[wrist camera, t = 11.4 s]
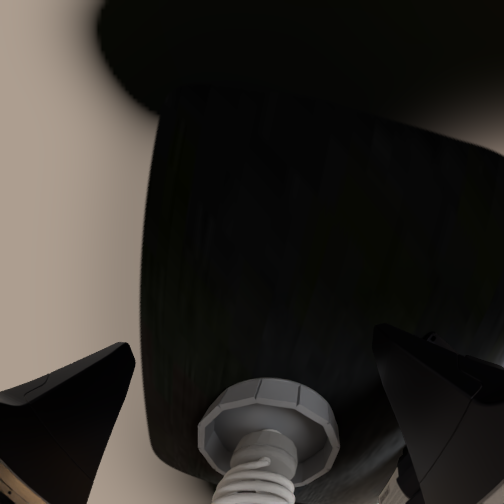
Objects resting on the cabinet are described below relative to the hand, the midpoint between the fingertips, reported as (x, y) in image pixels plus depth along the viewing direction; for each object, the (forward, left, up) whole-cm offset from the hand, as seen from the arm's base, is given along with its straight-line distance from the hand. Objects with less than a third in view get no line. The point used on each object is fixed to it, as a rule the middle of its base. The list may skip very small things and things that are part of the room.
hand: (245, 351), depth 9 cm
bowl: (-8, +11, -12) cm, 19 cm away
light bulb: (-8, +11, -12) cm, 18 cm away
